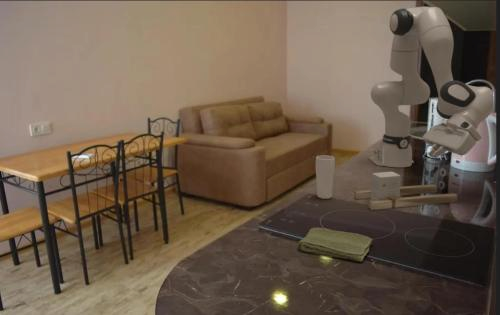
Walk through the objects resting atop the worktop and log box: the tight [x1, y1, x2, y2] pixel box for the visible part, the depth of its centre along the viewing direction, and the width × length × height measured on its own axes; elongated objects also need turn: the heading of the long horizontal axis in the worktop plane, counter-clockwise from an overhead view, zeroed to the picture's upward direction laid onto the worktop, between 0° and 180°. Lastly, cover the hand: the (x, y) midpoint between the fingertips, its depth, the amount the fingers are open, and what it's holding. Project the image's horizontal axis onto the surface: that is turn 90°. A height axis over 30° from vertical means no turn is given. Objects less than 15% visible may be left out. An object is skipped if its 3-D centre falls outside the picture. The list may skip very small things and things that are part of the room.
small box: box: [370, 171, 402, 201], centre depth 137 cm, size 8×6×10 cm
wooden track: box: [353, 183, 458, 211], centre depth 141 cm, size 13×32×3 cm, turn 101°
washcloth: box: [297, 226, 373, 263], centre depth 106 cm, size 13×18×3 cm
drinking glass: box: [315, 154, 336, 200], centre depth 144 cm, size 7×7×15 cm
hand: (431, 156), depth 140 cm, fingers closed
